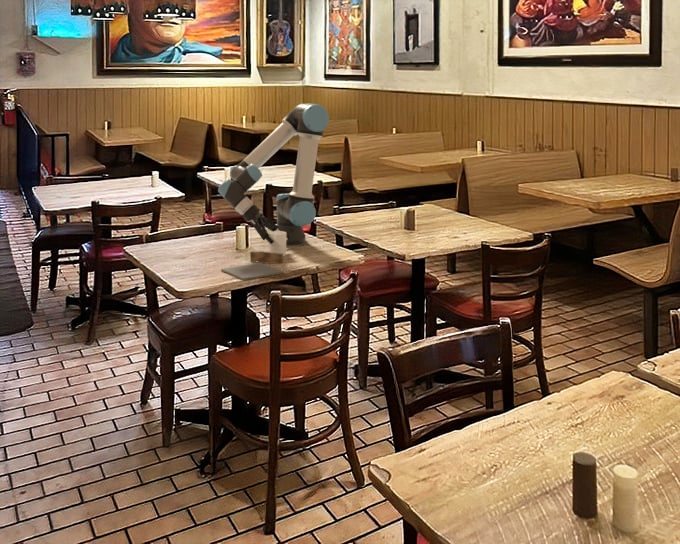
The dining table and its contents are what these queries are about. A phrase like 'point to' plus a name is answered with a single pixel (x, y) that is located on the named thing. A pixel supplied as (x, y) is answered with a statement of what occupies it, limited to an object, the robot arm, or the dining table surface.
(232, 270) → the grey mat
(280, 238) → the white cup
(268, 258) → the walnut rail
